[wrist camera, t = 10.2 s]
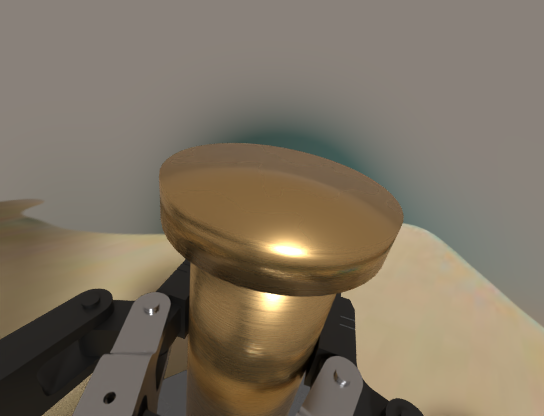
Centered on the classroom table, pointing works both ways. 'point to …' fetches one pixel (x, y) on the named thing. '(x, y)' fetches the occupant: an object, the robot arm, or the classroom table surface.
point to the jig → (176, 388)
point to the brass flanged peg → (266, 264)
